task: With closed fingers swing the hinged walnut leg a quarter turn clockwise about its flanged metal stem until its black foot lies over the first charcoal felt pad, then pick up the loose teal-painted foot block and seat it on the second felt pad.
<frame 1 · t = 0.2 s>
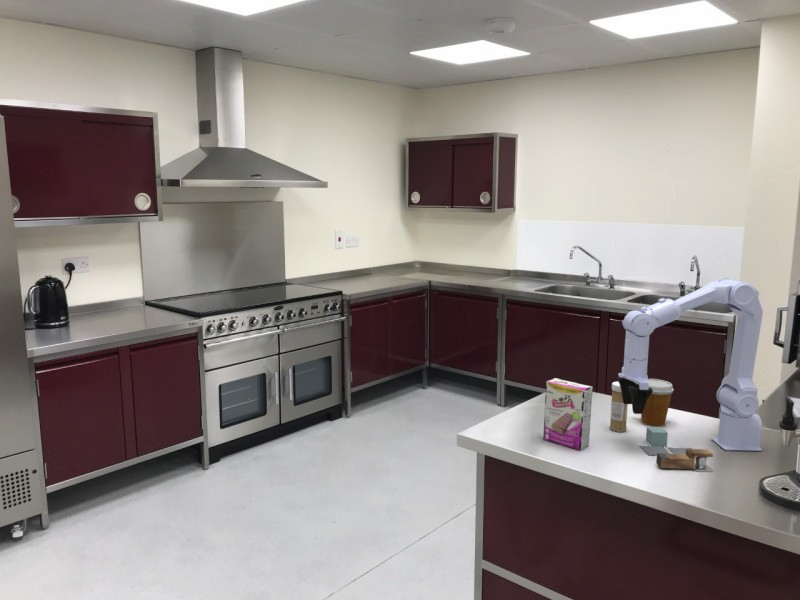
hand: (632, 408, 161), 10 cm above the worktop, fingers open, 7 cm apart
leg: (684, 458, 149), point 2 cm above the worktop, hinge at 0.0°
flanged metal stem: (700, 467, 149), on the worktop
foot block: (656, 444, 164), on the worktop
foot pad: (684, 453, 158), on the worktop
disposable coffee cup: (653, 423, 180), on the worktop
seat pad: (655, 450, 159), on the worktop
candy bar box: (565, 444, 164), on the worktop
sprinkles bottle: (617, 430, 175), on the worktop
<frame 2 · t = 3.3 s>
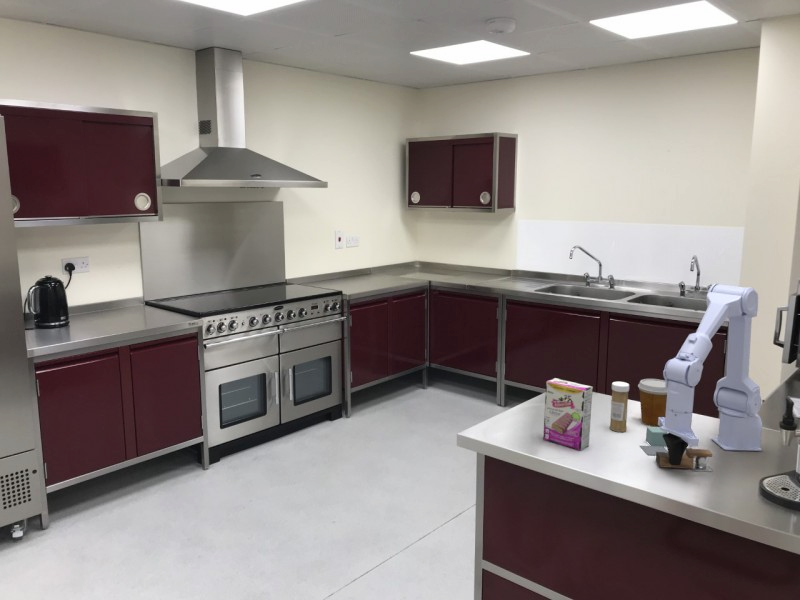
hand: (674, 464, 148), 1 cm above the worktop, fingers closed, pressing on leg
leg: (683, 458, 149), point 2 cm above the worktop, hinge at -4.6°, touching gripper
everything else where it was.
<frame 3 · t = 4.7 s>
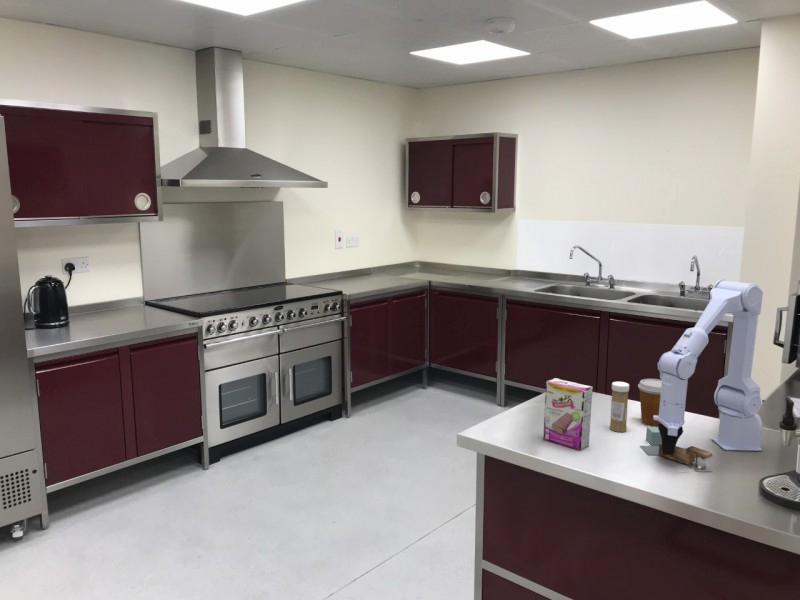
hand: (667, 454, 153), 2 cm above the worktop, fingers closed, pressing on leg
leg: (685, 453, 152), point 2 cm above the worktop, hinge at -51.5°, touching gripper
everything else where it was.
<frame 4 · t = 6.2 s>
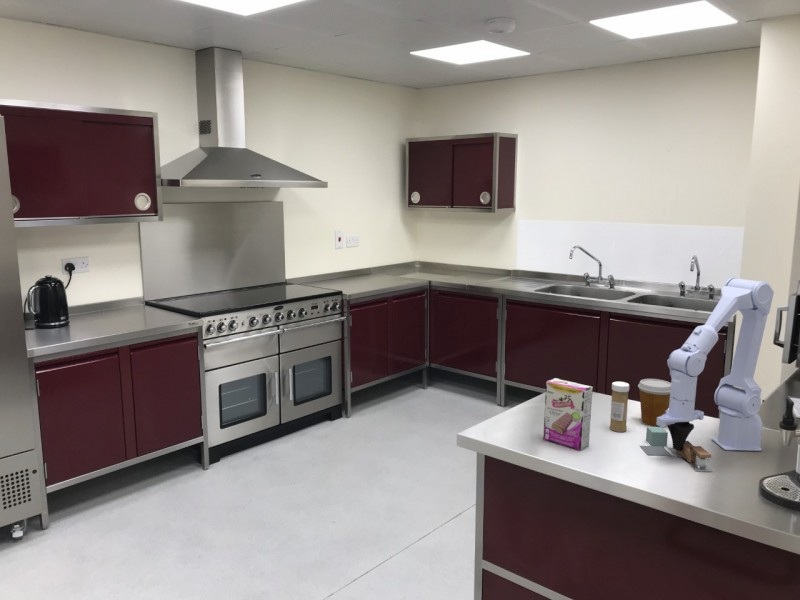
hand: (677, 449, 156), 2 cm above the worktop, fingers closed, pressing on leg
leg: (693, 452, 153), point 2 cm above the worktop, hinge at -87.0°, touching gripper
everything else where it was.
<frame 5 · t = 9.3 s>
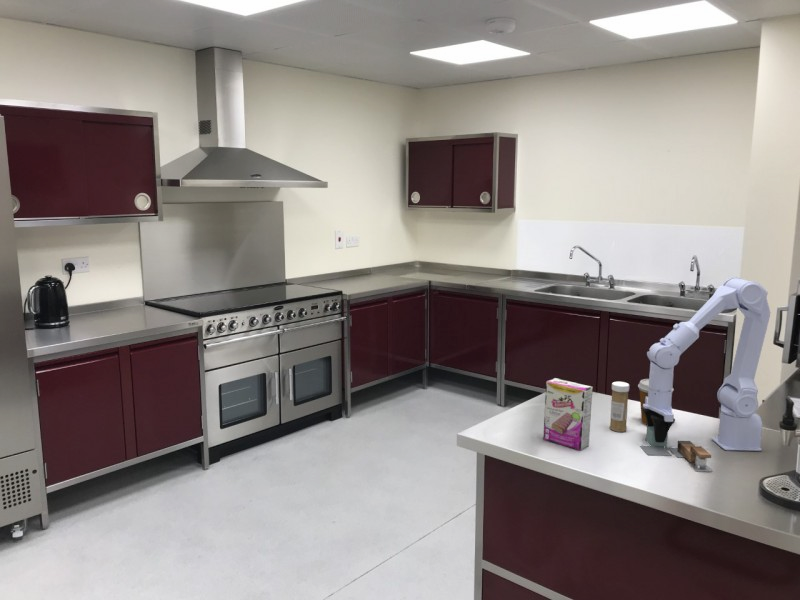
hand: (656, 438, 164), 1 cm above the worktop, fingers closed on foot block, 4 cm apart
leg: (693, 452, 153), point 2 cm above the worktop, hinge at -89.9°
foot block: (656, 443, 164), on the worktop, touching gripper
everything else where it was.
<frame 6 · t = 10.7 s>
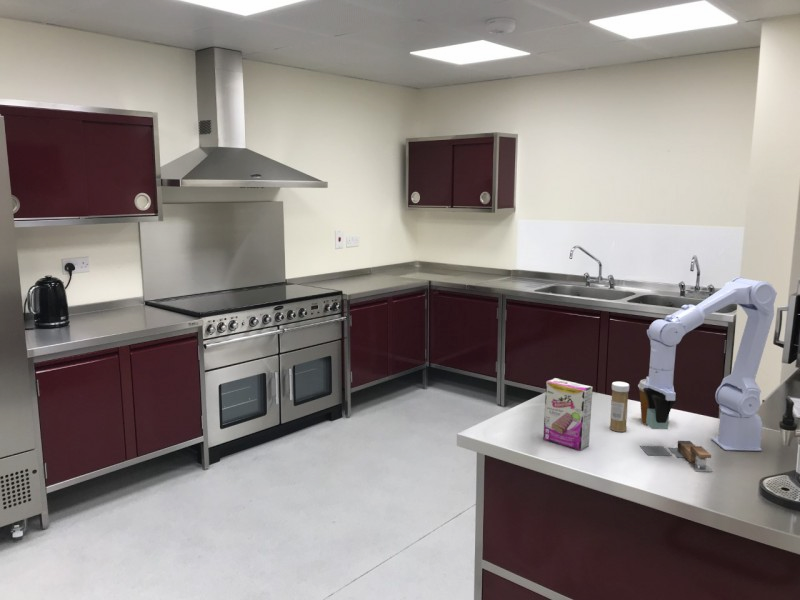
hand: (657, 419, 158), 8 cm above the worktop, fingers closed on foot block, 4 cm apart
foot block: (656, 426, 159), point 7 cm above the worktop, touching gripper
everything else where it was.
when the fingers open (3 cm above the worktop, at t = 12.1 s): foot block drops 1 cm, resting on seat pad.
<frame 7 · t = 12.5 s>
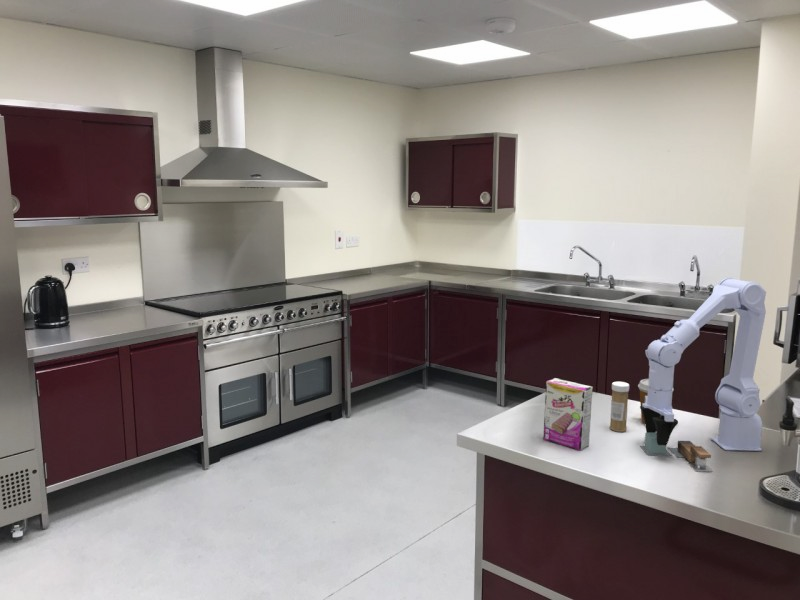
hand: (656, 439, 159), 3 cm above the worktop, fingers open, 7 cm apart
foot block: (655, 450, 160), resting on seat pad
everything else where it was.
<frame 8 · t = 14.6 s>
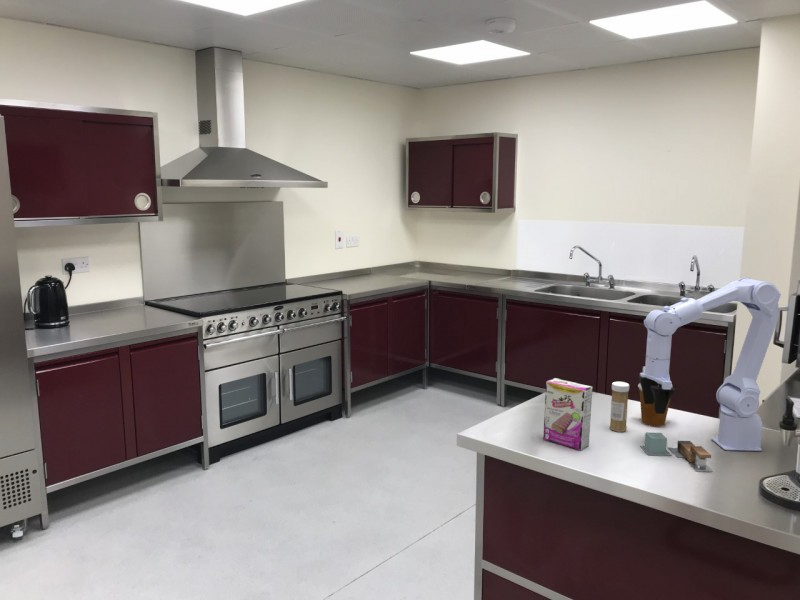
hand: (654, 408, 161), 10 cm above the worktop, fingers open, 7 cm apart
nothing on the worktop moved.
at the end: leg at -90° (first picture: +0°); foot block inside the target area (0.1 cm from its centre), resting on seat pad; foot block tilted 0° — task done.
